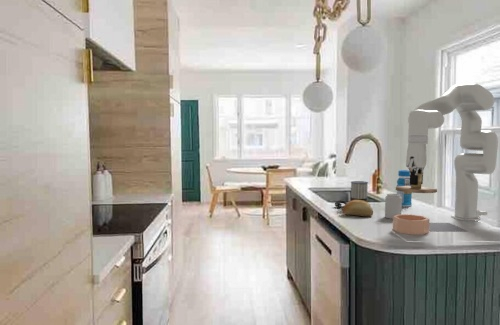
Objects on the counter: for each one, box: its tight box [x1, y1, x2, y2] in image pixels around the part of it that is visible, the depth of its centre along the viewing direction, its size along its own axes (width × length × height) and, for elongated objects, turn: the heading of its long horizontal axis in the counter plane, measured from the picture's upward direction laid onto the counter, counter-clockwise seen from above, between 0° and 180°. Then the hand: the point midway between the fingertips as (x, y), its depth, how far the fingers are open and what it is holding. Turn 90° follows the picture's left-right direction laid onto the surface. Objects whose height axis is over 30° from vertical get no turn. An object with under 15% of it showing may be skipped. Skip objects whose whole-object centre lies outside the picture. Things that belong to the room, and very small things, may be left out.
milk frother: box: [334, 180, 369, 209], centre depth 229 cm, size 14×16×15 cm
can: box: [384, 192, 403, 220], centre depth 201 cm, size 8×8×12 cm
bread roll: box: [341, 199, 374, 218], centre depth 209 cm, size 10×15×8 cm, turn 76°
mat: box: [429, 222, 469, 233], centre depth 182 cm, size 16×17×1 cm
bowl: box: [392, 213, 430, 235], centre depth 174 cm, size 13×13×6 cm
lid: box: [395, 174, 438, 194], centre depth 174 cm, size 16×16×7 cm
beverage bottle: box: [396, 169, 413, 208], centre depth 238 cm, size 8×8×20 cm
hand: (416, 183), depth 174 cm, fingers closed on lid, 4 cm apart
